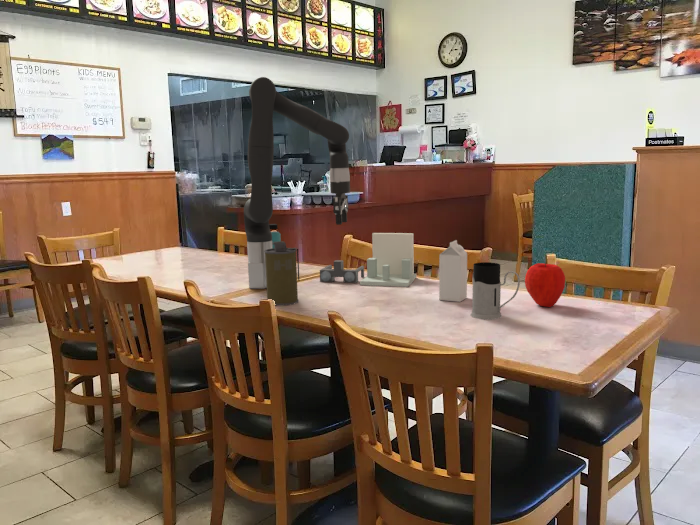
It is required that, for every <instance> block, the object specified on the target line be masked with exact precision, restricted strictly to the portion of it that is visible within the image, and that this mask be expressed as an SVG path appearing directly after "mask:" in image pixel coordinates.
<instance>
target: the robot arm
mask: <svg viewBox="0 0 700 525" xmlns="http://www.w3.org/2000/svg"><path fill="white" fill-rule="evenodd" d="M248 96H249V98H250V101H251V102H250V103H251V122H250V127H249V132H248V140H247V141H248V142H247V164H248V166H247V167H248V170H249V175H250V180H251V181H250V182H251V192H250V198H249V199H248V200H247V201H246V202H245V204H244V206H243V219H244V220H243V222H244V231H245V232H244V233H245V236H246V241H247V242H246V243H247V244H246V246H247V247H246V249H247V274H248V289H258V290H259V289H260V290H261V289H262V290H264V289H267V283H266V263H265V252H264V251H265V250H267V249H272V233H271V232H272V231H271V229H270V228H269V224H270V222H269V221H270V220H271V217H272V216H273V213H274V212H273V211H274V210H273V209H274V206H273V192H272V190H273V189H272V184H273V183H272V181H273V172H274V171H273V170H274V169H273V168H274V156H275V155H274V152H275V151H274V146H275V145H274V144H275V139H274V138H275V137H274V136H275V135H274V123H273V122H274V121H273V120H274V112H276V113H278V114H279V115H282V116H283V117H286V118H287V119H289V120H290V121H292V122H294V123H296V124H297V125H299V126H300V127H303V128H304V129H306V130H308V131H310V132H311V133H313V134H314V135H316V136H317V135H318V136H321V137H323V138H325V139H326V140H327V146H328V147H327V148H328V153H329V170H330V171H329V188H330V194H333V195H335V196H333V197H332V200H333V201H332V202H333V208H332V209H333V214H334V215H335V225H336V226H337V225H342V224H343V223H347V222H348V211H349V196H348V194H349V193H351V177H350V175H351V173H350V169H349V166H350V165H349V164H350V163H349V156H348V152H347V145H346V143H348V141H349V138H350V133H349V131H348V129H347V128H346V127H345V126H343V125H342V124H339V123H338V122H336V121H333V120H331V119H328V118H326V117H325V116H323V115H322V114H320V113H319V112H317V111H315V110H314V109H311V108H310V107H307V106H305V105H302V104H301V103H298V102H295V101H293V100H291V99H289V98H287V97H286V96H284V95H282V94H281V93H280V92H279V91H277V89H276V86H275V84H274V82H273V81H272V79H270V78H268V77H265V76H261V77H260V76H259V77H256V78H255V79H254V80H253V81H252V82H251V85H250V86H249V90H248Z"/></svg>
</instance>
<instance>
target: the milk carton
mask: <svg viewBox="0 0 700 525" xmlns="http://www.w3.org/2000/svg"><path fill="white" fill-rule="evenodd" d="M438 260H439V262H438V264H439V269H438V270H439V271H438V272H439V277H438V278H439V279H438V280H439V282H438V284H439V286H438V288H439V290H438V291H439V293H438V294H439V296H438V297H439V300H440V301H446V302H447V301H449V302H458V303H459V302H460V303H461V302H462V301H464V300H465V299H467V297H468V292H467V291H468V252H467V251H466V250H465V248H464V247H463V246H462V245H461V244H459V243H458V240H457V239H455V240H453V241H450V242H449V246H448V247H447V248H445V249H444V251H442V252H440V253H439V259H438Z"/></svg>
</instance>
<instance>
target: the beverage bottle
mask: <svg viewBox="0 0 700 525" xmlns="http://www.w3.org/2000/svg"><path fill="white" fill-rule="evenodd" d="M269 228H270V230H278V229H279V228H278V224H277V223H269ZM271 233H272V242H280V241H282V239H281V235H282V234H281V233H280V232H279V231H271ZM272 248H274V245H273V244H272Z"/></svg>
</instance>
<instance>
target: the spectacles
mask: <svg viewBox="0 0 700 525" xmlns="http://www.w3.org/2000/svg"><path fill="white" fill-rule="evenodd" d="M344 267H345V266H344V260H343V259H342V260H339V259H337V260H333V265H332V264H328V265H326V266H325V267H323V268H321V269H319V282H320V283H321V282H325V283H333V282H334V281H335V278H343V283H347V284H348V283H349V284H351V283H352V284H353V283H354V284H356V283H358V282H359V272H360V278H365V266H364V265H361V266H359V267H357V268H356V269H348V268H347V269H346V268H345V269H344Z"/></svg>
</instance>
